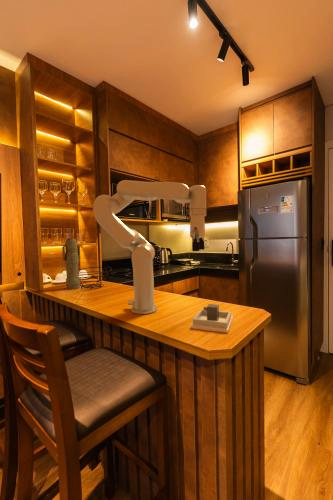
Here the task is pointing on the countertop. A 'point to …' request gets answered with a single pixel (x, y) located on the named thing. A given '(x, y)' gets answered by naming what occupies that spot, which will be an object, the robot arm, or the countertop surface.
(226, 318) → the tray
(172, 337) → the countertop surface
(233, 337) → the countertop surface
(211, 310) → the connector plug
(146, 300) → the robot arm
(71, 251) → the thermos
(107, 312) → the countertop surface
